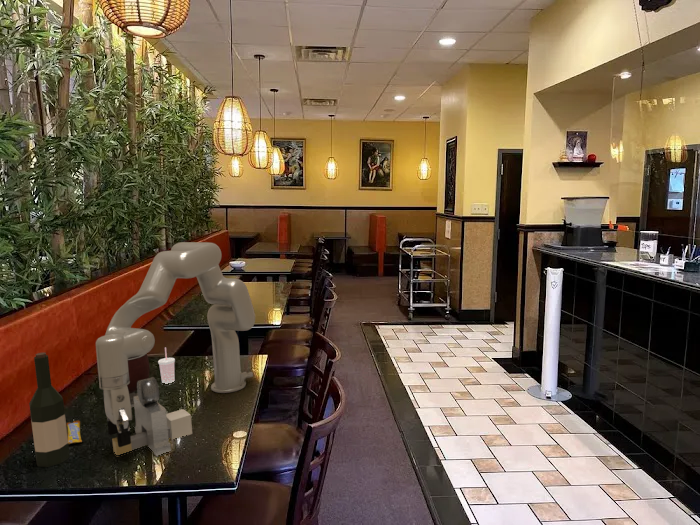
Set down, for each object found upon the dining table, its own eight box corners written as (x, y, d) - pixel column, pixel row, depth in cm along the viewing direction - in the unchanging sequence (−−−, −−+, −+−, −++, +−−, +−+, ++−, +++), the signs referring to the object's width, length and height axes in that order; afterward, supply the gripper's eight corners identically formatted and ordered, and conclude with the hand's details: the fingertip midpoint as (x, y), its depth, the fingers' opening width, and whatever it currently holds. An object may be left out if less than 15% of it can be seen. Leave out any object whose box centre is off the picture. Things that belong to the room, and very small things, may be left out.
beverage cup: (180, 381, 198) (177, 346, 196) (166, 386, 193) (163, 350, 191) (169, 378, 201) (166, 344, 200) (156, 383, 196) (153, 348, 194)
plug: (184, 427, 158) (183, 408, 157) (192, 433, 153) (190, 414, 152) (112, 450, 144) (110, 430, 144) (118, 458, 140) (116, 437, 139)
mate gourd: (160, 395, 184) (155, 341, 182) (134, 411, 171) (129, 353, 168) (124, 392, 188) (119, 339, 186) (96, 407, 175) (90, 351, 173)
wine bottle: (45, 470, 135) (32, 360, 131) (29, 462, 139) (16, 356, 135) (76, 456, 142) (64, 351, 138) (60, 449, 146) (48, 347, 142)
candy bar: (66, 427, 162) (65, 421, 162) (81, 424, 164) (80, 418, 164) (66, 449, 147) (65, 443, 147) (82, 445, 149) (81, 439, 149)
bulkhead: (148, 429, 157) (143, 369, 155) (171, 451, 142) (165, 386, 140) (135, 433, 155) (129, 372, 152) (156, 456, 140) (150, 390, 138)
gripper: (138, 384, 136) (143, 445, 138) (119, 369, 149) (124, 425, 152) (108, 391, 131) (113, 455, 133) (91, 375, 145) (97, 433, 147)
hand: (119, 439), depth 142 cm, fingers open, 9 cm apart
